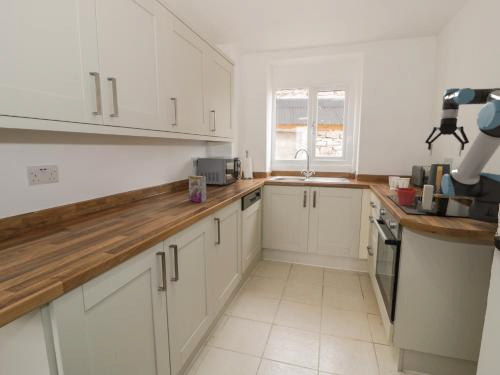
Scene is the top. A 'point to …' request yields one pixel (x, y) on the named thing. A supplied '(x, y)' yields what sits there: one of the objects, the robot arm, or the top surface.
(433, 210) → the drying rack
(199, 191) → the candy bar box
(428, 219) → the top surface
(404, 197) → the flower pot
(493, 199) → the robot arm
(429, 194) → the white tall block
